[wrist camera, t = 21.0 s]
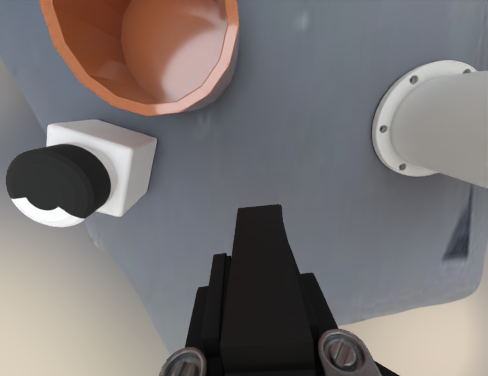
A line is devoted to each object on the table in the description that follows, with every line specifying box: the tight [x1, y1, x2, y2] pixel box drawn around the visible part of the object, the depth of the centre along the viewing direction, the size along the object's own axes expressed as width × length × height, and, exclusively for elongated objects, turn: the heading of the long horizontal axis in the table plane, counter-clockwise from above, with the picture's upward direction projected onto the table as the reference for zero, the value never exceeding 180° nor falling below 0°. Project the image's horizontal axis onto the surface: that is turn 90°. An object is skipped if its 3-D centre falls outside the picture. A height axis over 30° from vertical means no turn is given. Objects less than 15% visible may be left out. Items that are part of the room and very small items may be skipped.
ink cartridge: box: [220, 204, 316, 376], centre depth 10 cm, size 5×2×8 cm, turn 7°
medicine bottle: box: [6, 119, 157, 227], centre depth 22 cm, size 7×7×12 cm
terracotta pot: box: [39, 0, 240, 116], centre depth 19 cm, size 12×12×10 cm
